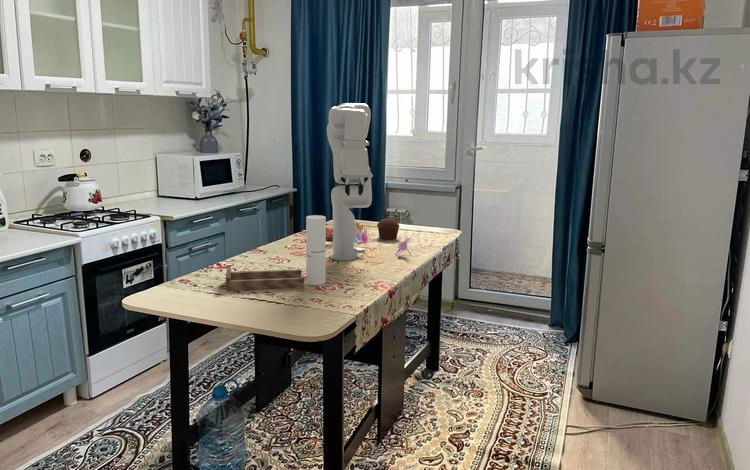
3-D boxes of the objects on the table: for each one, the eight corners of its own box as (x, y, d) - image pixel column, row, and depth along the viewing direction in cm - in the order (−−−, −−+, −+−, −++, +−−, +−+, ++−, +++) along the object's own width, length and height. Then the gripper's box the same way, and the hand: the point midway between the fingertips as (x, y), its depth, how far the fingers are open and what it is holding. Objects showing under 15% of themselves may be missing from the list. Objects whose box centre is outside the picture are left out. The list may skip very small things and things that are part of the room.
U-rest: (301, 278, 217) (301, 265, 216) (304, 287, 205) (304, 274, 204) (227, 280, 211) (227, 268, 210) (226, 291, 200) (225, 277, 198)
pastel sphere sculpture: (322, 235, 291) (322, 217, 288) (368, 236, 290) (368, 218, 288) (316, 246, 266) (316, 227, 264) (365, 248, 266) (366, 229, 264)
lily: (399, 253, 260) (391, 238, 257) (420, 246, 256) (412, 231, 253) (396, 267, 251) (387, 251, 247) (418, 260, 247) (410, 244, 244)
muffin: (403, 238, 287) (404, 218, 285) (392, 242, 278) (392, 222, 275) (383, 234, 293) (384, 215, 291) (371, 238, 284) (372, 219, 282)
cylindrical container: (322, 285, 208) (322, 219, 203) (303, 284, 210) (303, 218, 204) (327, 280, 215) (328, 215, 209) (309, 278, 216) (309, 214, 211)
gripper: (375, 144, 209) (373, 193, 213) (330, 143, 205) (330, 193, 210) (379, 145, 202) (378, 196, 206) (333, 145, 198) (332, 196, 202)
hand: (353, 194), depth 208 cm, fingers open, 3 cm apart
